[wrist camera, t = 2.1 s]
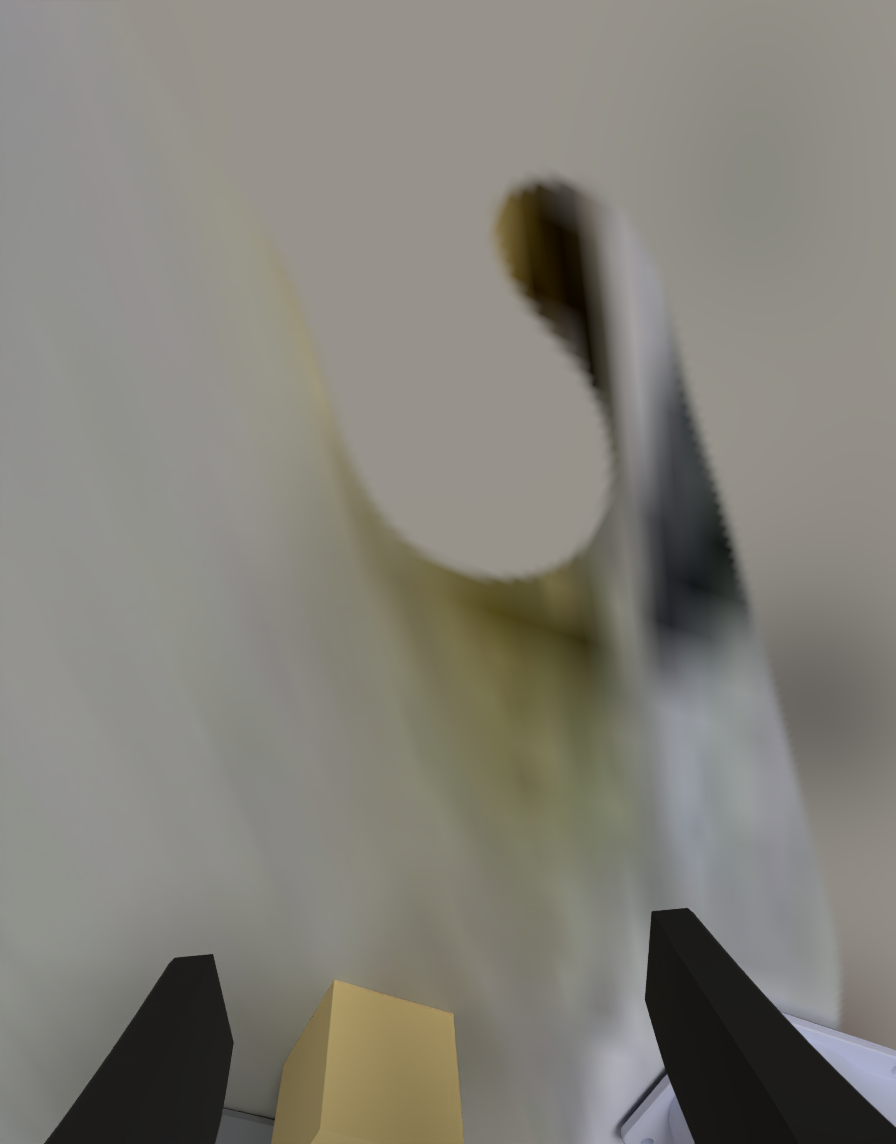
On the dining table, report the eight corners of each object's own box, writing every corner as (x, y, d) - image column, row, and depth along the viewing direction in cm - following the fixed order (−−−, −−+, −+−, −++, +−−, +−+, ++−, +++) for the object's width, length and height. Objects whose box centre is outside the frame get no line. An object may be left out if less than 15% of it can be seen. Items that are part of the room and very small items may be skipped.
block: (453, 1011, 23) (465, 1163, 19) (398, 1092, 24) (398, 1251, 20) (334, 977, 22) (319, 1129, 18) (283, 1063, 23) (258, 1224, 19)
